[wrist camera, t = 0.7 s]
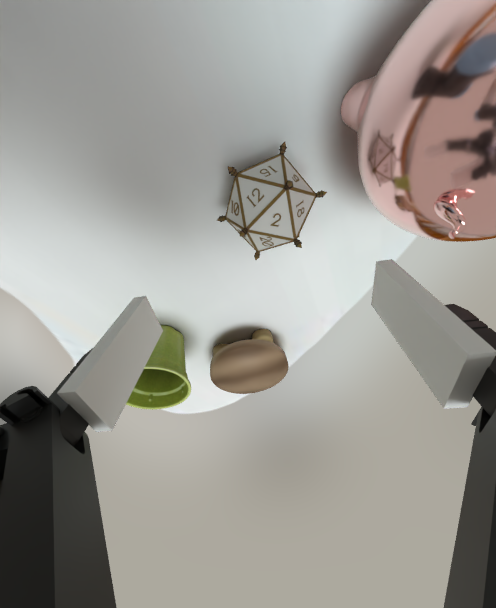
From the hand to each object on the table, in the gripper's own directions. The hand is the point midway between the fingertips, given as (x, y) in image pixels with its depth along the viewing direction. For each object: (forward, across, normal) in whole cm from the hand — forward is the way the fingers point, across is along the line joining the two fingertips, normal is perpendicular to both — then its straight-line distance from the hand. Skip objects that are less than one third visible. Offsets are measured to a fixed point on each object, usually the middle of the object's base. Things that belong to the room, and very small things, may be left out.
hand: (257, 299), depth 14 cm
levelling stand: (+17, -5, -20) cm, 27 cm away
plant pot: (+15, -17, -14) cm, 27 cm away
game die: (+15, +1, +3) cm, 15 cm away
